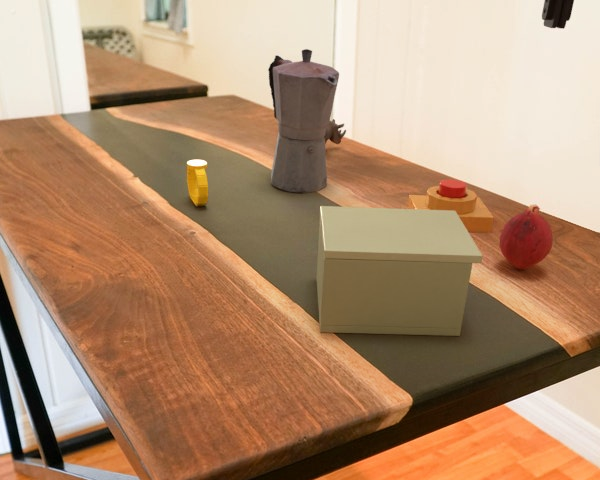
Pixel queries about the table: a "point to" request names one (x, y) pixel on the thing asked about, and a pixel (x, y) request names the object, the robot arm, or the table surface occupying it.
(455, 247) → the chest lid
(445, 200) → the button block
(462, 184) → the button
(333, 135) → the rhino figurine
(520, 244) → the onion
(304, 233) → the table surface
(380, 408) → the table surface
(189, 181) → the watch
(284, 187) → the moka pot
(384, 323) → the chest
